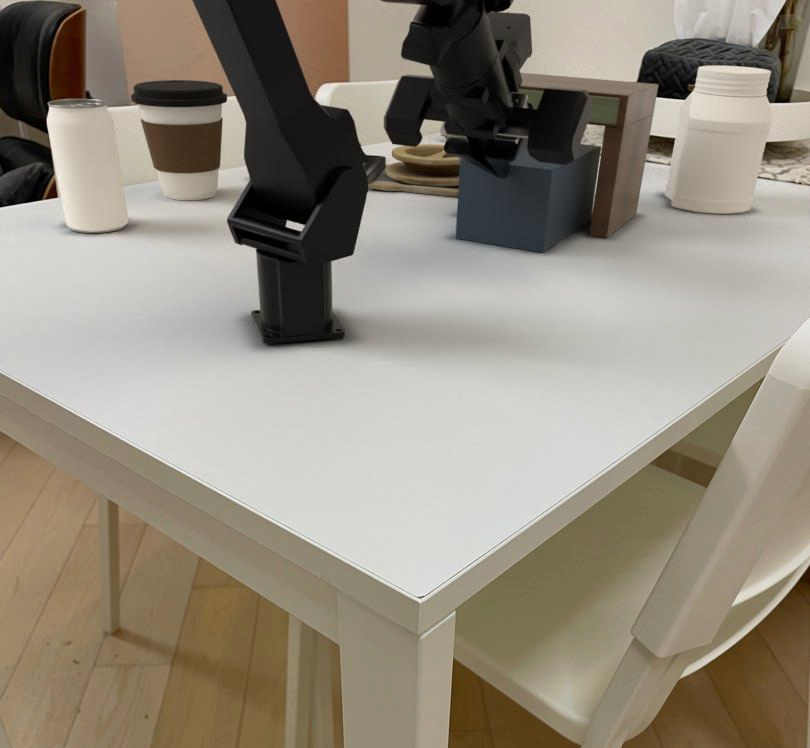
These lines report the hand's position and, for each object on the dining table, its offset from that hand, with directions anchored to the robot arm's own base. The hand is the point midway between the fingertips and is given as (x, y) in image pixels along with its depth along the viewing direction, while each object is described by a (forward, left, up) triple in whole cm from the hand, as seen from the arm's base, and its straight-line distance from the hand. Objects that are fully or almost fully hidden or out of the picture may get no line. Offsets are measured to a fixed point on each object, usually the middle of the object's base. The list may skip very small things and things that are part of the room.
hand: (503, 174), depth 86 cm
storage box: (+6, -6, -7) cm, 11 cm away
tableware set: (+37, +3, -7) cm, 38 cm away
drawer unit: (+11, -11, -7) cm, 17 cm away
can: (+16, +40, -7) cm, 44 cm away
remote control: (+37, +7, -6) cm, 38 cm away
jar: (+13, -34, -7) cm, 37 cm away
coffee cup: (+29, +29, -7) cm, 42 cm away
